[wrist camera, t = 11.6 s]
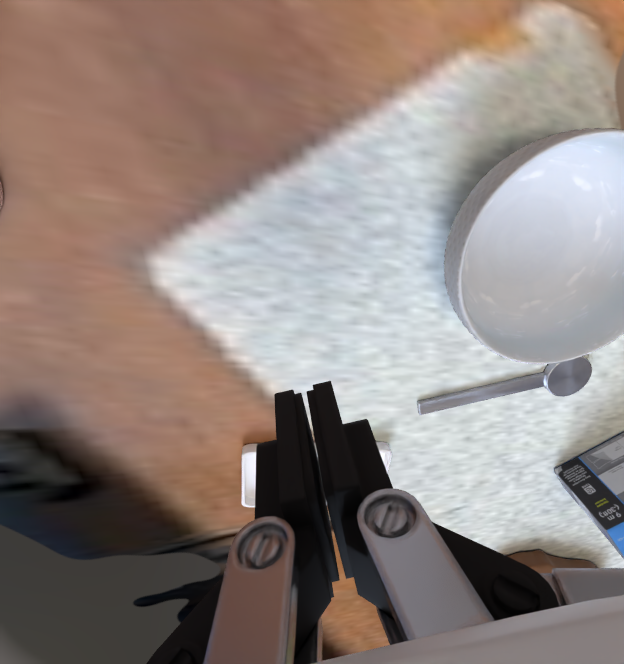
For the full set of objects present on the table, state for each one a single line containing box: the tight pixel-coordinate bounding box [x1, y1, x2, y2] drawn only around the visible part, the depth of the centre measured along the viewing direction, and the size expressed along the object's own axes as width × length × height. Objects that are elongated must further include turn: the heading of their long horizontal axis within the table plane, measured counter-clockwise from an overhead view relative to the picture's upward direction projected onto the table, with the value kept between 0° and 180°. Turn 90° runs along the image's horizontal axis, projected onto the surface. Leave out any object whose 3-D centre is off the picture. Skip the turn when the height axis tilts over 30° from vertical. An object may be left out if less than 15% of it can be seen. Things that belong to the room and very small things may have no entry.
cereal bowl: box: [444, 128, 624, 364], centre depth 32 cm, size 17×17×7 cm
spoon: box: [417, 356, 592, 415], centre depth 41 cm, size 5×17×1 cm, turn 101°
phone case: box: [242, 442, 392, 507], centre depth 43 cm, size 7×1×15 cm
